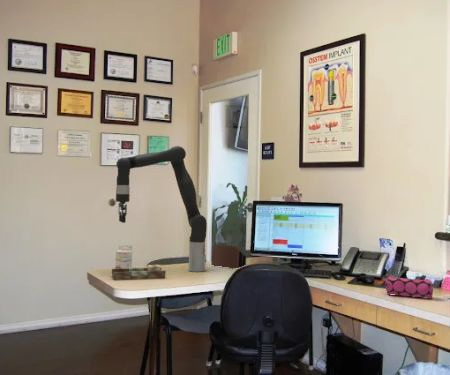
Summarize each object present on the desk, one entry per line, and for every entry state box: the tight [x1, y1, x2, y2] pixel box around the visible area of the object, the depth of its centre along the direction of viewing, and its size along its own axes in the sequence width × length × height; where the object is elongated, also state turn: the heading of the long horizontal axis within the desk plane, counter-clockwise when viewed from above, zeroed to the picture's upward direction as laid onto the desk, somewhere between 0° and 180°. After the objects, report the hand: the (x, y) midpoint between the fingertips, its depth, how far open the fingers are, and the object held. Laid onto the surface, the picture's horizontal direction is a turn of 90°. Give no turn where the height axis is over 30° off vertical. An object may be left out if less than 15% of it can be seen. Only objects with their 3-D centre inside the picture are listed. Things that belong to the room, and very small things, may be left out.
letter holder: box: [211, 244, 247, 269], centre depth 309 cm, size 10×20×14 cm, turn 58°
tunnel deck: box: [111, 267, 166, 281], centre depth 265 cm, size 27×12×4 cm, turn 109°
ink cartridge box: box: [114, 244, 133, 269], centre depth 283 cm, size 9×5×15 cm, turn 84°
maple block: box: [147, 264, 162, 271], centre depth 268 cm, size 6×6×4 cm
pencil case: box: [384, 273, 434, 299], centre depth 234 cm, size 21×10×10 cm, turn 71°
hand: (122, 222), depth 276 cm, fingers open, 8 cm apart
